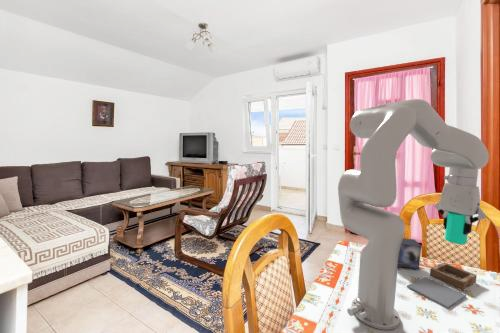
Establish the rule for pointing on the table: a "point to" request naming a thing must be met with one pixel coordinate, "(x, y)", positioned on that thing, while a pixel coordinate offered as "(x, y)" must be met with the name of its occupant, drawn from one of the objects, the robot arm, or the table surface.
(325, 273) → the table surface
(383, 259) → the robot arm
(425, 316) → the table surface
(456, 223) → the candle
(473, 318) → the table surface
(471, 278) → the holder
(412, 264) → the small box
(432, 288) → the slate mat
